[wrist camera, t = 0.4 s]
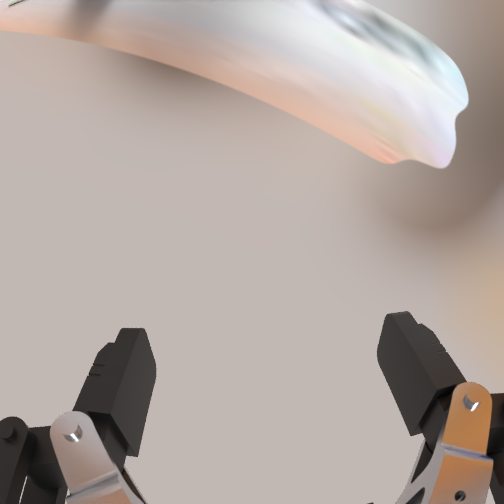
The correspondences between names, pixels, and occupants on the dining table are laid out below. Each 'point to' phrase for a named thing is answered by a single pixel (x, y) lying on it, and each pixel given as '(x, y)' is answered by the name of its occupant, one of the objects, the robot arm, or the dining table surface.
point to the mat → (13, 1)
